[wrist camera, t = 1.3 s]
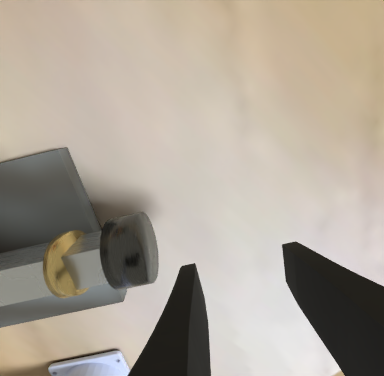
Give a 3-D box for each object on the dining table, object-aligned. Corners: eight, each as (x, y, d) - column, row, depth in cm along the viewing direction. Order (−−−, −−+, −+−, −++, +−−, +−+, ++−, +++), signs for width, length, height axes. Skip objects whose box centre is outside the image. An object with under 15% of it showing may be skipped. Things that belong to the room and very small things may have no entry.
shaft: (161, 253, 16) (152, 300, 12) (-56, 300, 16) (-139, 361, 12) (144, 201, 14) (127, 234, 10) (-91, 255, 15) (-198, 306, 11)
